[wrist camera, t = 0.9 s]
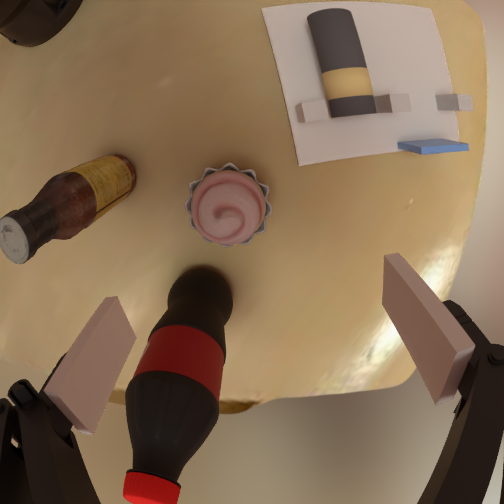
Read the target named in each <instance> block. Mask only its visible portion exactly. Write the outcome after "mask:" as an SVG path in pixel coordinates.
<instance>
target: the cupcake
mask: <svg viewBox="0 0 504 504" xmlns="http://www.w3.org/2000/svg"><path fill="white" fill-rule="evenodd" d="M189 188H190V194H191V196H190V197H189V198H188V200H187V201H186V202H185V205H184V206H185V208H186V210H187V211H188V212H189V213H190V214H191V217H190V226H191V227H192V228H193V229H195V230H198V232H199V233H200V234H201V235H202V237H203V239H204V240H205V241H207V242H215V243H219V244H220V245H222V246H224V247H231V246H233V245H234V244H238V243H239V244H243V245H246V244H249V243H250V242H251V240H252V238H253V236H254V235H255V234H259V233H263V232H265V231H266V222H265V219H266V218H267V217H268V216H269V215H270V214H271V212H272V206H271V205H270V203H269V202H268V201H267V197H268V194H269V187H268V186H267V185H264V184H262V183H259V182H258V181H257V178H256V174H255V172H254V170H251V169H248V170H239V169H238V168H237V167H236V166H235V165H234V164H232V163H230V162H229V163H227V164H225V165H224V166H223V167H222V168H220V169H215V168H211V167H207V168H206V169H205V170H204V172H203V175H202V178H201V179H199V180H196V181H193V182H191V183H190V184H189Z"/></svg>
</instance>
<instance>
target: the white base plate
mask: <svg viewBox="0 0 504 504" xmlns="http://www.w3.org/2000/svg"><path fill="white" fill-rule="evenodd" d="M329 8H343V9H347V10H349V11H351V13H352V16H353V19H354V23H355V26H356V29H357V32H358V36H359V39H360V43H361V46H362V50H363V54H364V57H365V61H366V65H367V69H368V72H369V76H370V80H371V85H372V89H373V94H374V101H375V106H376V112H377V113H375V114H365V115H355V116H345V117H337V118H332V117H331V112H330V107H329V102H328V100H327V95H326V91H325V87H324V82H323V78H322V72H321V68H320V64H319V60H318V56H317V53H316V49H315V45H314V42H313V38H312V35H311V31H310V28H309V24H308V21H307V16H308V15H310V14H311V13H313V12H316V11H319V10H323V9H329ZM261 11H262V15H263V18H264V22H265V25H266V29H267V32H268V36H269V40H270V43H271V47H272V51H273V55H274V58H275V62H276V66H277V70H278V74H279V78H280V82H281V86H282V91H283V95H284V99H285V104H286V108H287V112H288V117H289V121H290V126H291V131H292V135H293V140H294V145H295V150H296V155H297V160H298V165H299V166H303V165H309V164H315V163H321V162H327V161H333V160H339V159H346V158H353V157H360V156H367V155H375V154H382V153H391V152H399V151H410V152H414V153H418V154H422V155H423V154H433V153H444V152H456V151H469V148H468V144H467V143H462V142H459V132H458V123H457V115H456V111H473V104H472V98H471V95H464V94H453V90H452V85H451V80H450V75H449V70H448V66H447V61H446V57H445V53H444V49H443V46H442V42H441V39H440V35H439V32H438V29H437V25H436V22H435V19H434V16H433V13H432V10H431V9H430V8H424V7H418V6H410V5H402V4H392V3H379V2H349V1H344V2H314V3H301V4H290V5H281V6H274V7H267V8H261Z"/></svg>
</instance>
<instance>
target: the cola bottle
mask: <svg viewBox="0 0 504 504" xmlns="http://www.w3.org/2000/svg"><path fill="white" fill-rule="evenodd" d="M232 307H233V300H232V294H231V291H230V288H229V286H228V284H227V283H226V282H225V280H224V279H223V278H222V277H221V276H219V275H218V274H216V273H214V272H212V271H209V270H204V269H197V270H192V271H189V272H187V273H185V274H183V275H182V276H181V277H179V278H178V279H177V280H176V281H175V283H174V284H173V286H172V287H171V289H170V292H169V295H168V310H167V311H166V312H165V313H164V315H163V316H162V317H161V319H160V320H159V321H158V323H157V324H156V325H155V327H154V328H153V330H152V331H151V333H150V336H149V338H148V343H147V345H146V348H145V350H144V352H143V355H142V357H141V359H140V362H139V364H138V366H137V369H136V371H135V374H134V376H133V379H132V380H131V381H130V382H129V384H128V387H127V389H126V394H125V400H126V416H127V423H128V429H129V434H130V439H131V444H132V448H133V469H129V470H127V472H126V477H125V482H124V489H123V496H124V498H125V499H126V500H127V501H129V502H131V503H133V504H177V501H178V497H179V493H180V489H181V485H180V484H179V483H178V482H177V480H178V478H179V476H180V474H181V471H182V469H183V467H184V466H185V464H186V463H187V462H188V460H189V459H190V458H191V457H192V456H193V455H194V454H195V453H196V451H197V450H198V449H199V448H200V446H201V445H202V444H203V443H204V441H205V440H206V438H207V437H208V435H209V434H210V432H211V431H212V429H213V427H214V426H215V424H216V422H217V420H218V416H219V396H220V389H221V381H222V373H223V366H224V363H225V359H226V344H225V333H224V325H225V324H226V323H227V321H228V320H229V318H230V315H231V312H232Z"/></svg>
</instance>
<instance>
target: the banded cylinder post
mask: <svg viewBox="0 0 504 504" xmlns="http://www.w3.org/2000/svg"><path fill="white" fill-rule="evenodd" d="M307 21H308V24H309V28H310V31H311V35H312V38H313V42H314V45H315V49H316V53H317V56H318V60H319V64H320V68H321V72H322V78H323V82H324V87H325V91H326V95H327V100H328V102H329V107H330V112H331V117H332V118H337V117H345V116H355V115H365V114H375V113H377V112H376V106H375V101H374V94H373V89H372V85H371V80H370V76H369V72H368V69H367V65H366V61H365V57H364V54H363V50H362V46H361V43H360V39H359V36H358V32H357V29H356V26H355V23H354V19H353V16H352V13H351V11H349V10H347V9H343V8H329V9H323V10H319V11H316V12H313V13H311V14H310V15H308V16H307Z"/></svg>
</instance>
